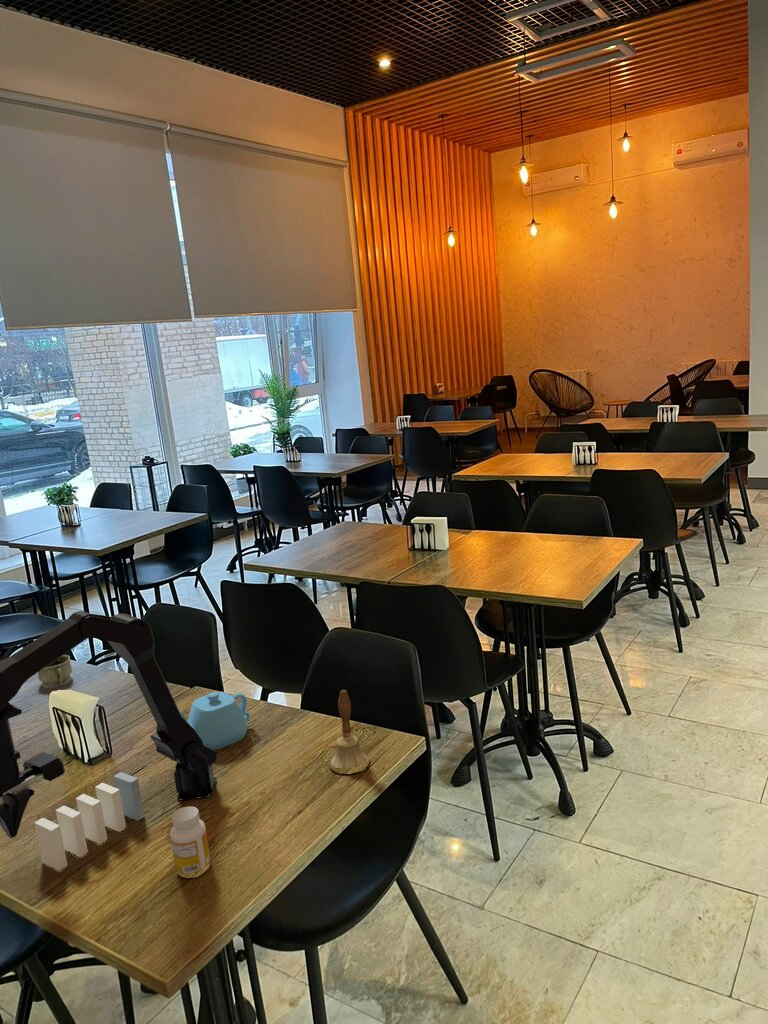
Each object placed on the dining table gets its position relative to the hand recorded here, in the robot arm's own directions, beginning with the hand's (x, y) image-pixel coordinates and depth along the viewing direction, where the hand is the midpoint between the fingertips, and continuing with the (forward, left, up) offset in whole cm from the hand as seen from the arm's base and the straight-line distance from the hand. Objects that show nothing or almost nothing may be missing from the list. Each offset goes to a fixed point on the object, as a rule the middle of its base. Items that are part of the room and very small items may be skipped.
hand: (12, 836), depth 125 cm
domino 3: (-8, -11, -9) cm, 17 cm away
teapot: (-24, -44, -10) cm, 51 cm away
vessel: (+26, -87, -10) cm, 91 cm away
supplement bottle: (-28, 0, -10) cm, 30 cm away
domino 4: (-11, -14, -9) cm, 20 cm away
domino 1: (-3, -5, -9) cm, 11 cm away
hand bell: (-54, -28, -10) cm, 62 cm away
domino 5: (-13, -17, -9) cm, 24 cm away
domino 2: (-6, -8, -9) cm, 14 cm away
